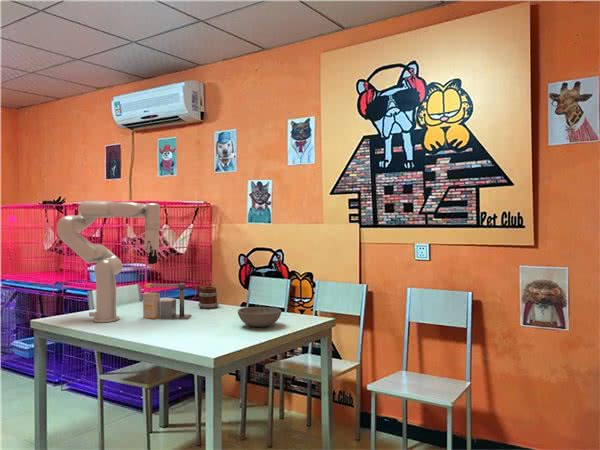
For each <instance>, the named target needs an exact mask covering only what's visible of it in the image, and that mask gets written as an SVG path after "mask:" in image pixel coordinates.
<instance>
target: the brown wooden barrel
mask: <svg viewBox="0 0 600 450" xmlns="http://www.w3.org/2000/svg"><path fill="white" fill-rule="evenodd" d="M196 293H197V298H198V304H197V305H198V307H199V309H201V310H214V309H218V306H219V301H218V298H217V297H218V294H219V293H218V292H217V287H216V286H202V285H201V284H197V291H196Z"/></svg>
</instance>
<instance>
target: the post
mask: <svg viewBox="0 0 600 450" xmlns="http://www.w3.org/2000/svg"><path fill="white" fill-rule="evenodd" d="M178 291H179V293H178V294H179V314H177V313H176V315H175V316H174V317H172V319H171V320H188V319H190V318H191V317H192V314H191V313H190V314H189V313H188V314H185V288H179V289H178Z"/></svg>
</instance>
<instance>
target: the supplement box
mask: <svg viewBox="0 0 600 450" xmlns="http://www.w3.org/2000/svg"><path fill="white" fill-rule="evenodd" d="M160 301H161V293H160V292H154V291H153V292H151V291H150V292H149V291H147V292H144V293H142V306H143V307H142V312H143V313H142V316H143V319H152V320H156V319H160Z"/></svg>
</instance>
